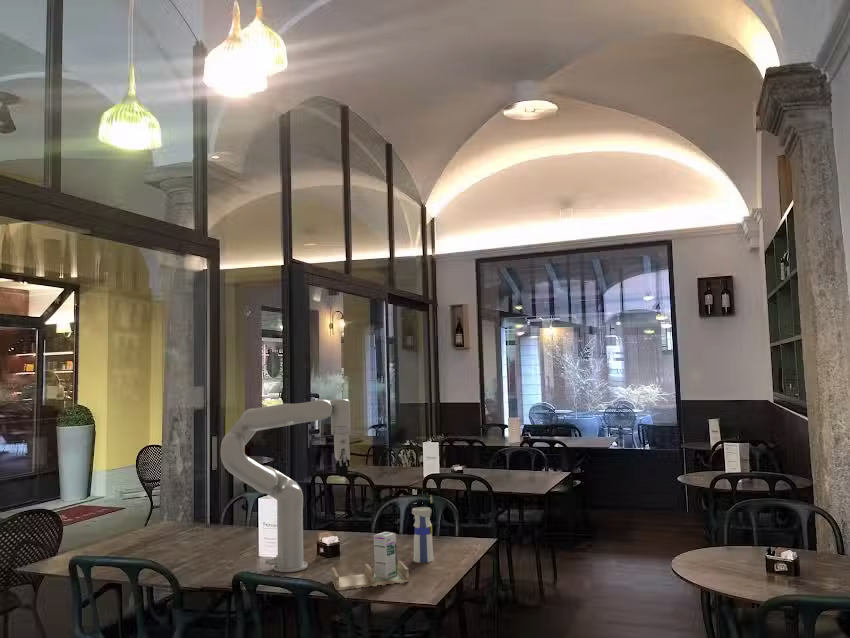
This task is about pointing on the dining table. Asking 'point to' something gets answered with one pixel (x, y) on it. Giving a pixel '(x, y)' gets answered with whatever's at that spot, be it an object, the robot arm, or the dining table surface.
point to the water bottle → (423, 534)
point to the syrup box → (385, 555)
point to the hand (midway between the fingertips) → (341, 474)
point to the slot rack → (368, 578)
